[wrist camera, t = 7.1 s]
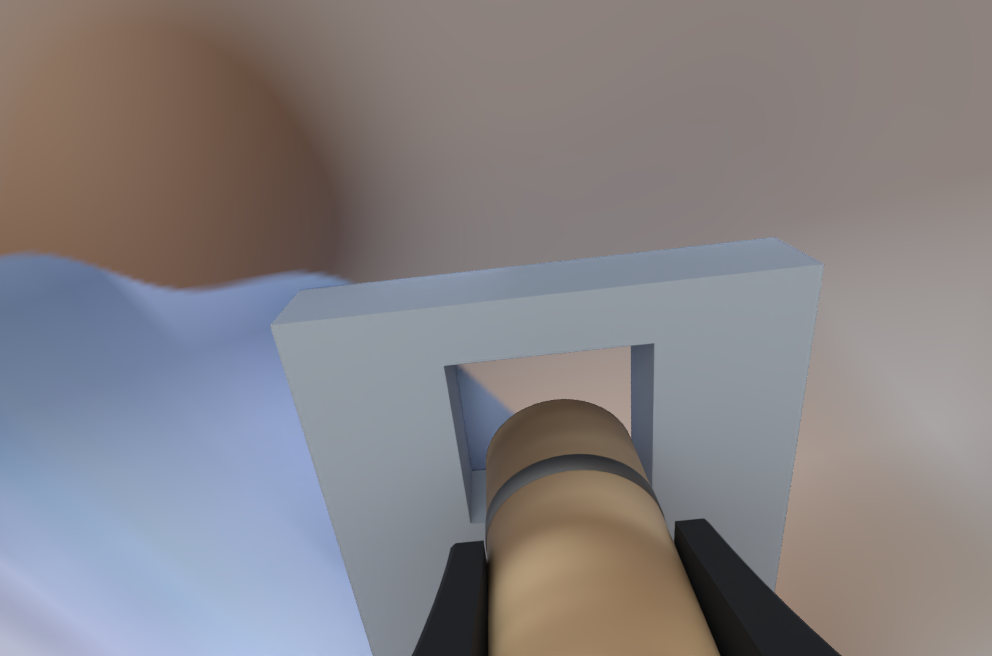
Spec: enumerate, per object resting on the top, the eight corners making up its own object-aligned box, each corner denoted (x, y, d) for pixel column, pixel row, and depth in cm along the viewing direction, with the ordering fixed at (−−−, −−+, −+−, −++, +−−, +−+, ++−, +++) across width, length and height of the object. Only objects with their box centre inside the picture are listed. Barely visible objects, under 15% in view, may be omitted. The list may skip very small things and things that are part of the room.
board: (406, 676, 24) (399, 739, 21) (299, 290, 16) (270, 325, 14) (730, 645, 23) (757, 706, 21) (775, 237, 16) (824, 264, 14)
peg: (494, 527, 16) (509, 1017, 8) (474, 408, 14) (465, 876, 6) (636, 510, 16) (808, 992, 7) (633, 388, 14) (852, 839, 6)
